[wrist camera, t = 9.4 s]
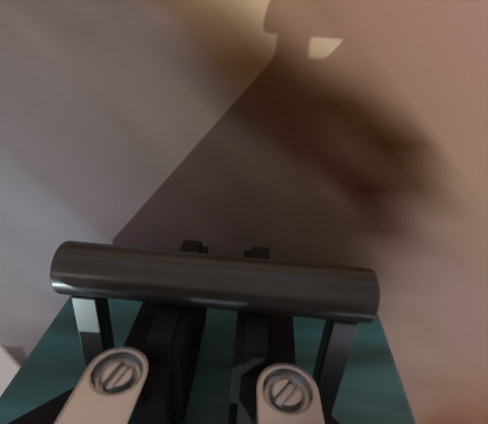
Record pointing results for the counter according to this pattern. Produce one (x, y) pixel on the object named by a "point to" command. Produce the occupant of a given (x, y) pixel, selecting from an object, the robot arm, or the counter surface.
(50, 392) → the drawer
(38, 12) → the counter surface
